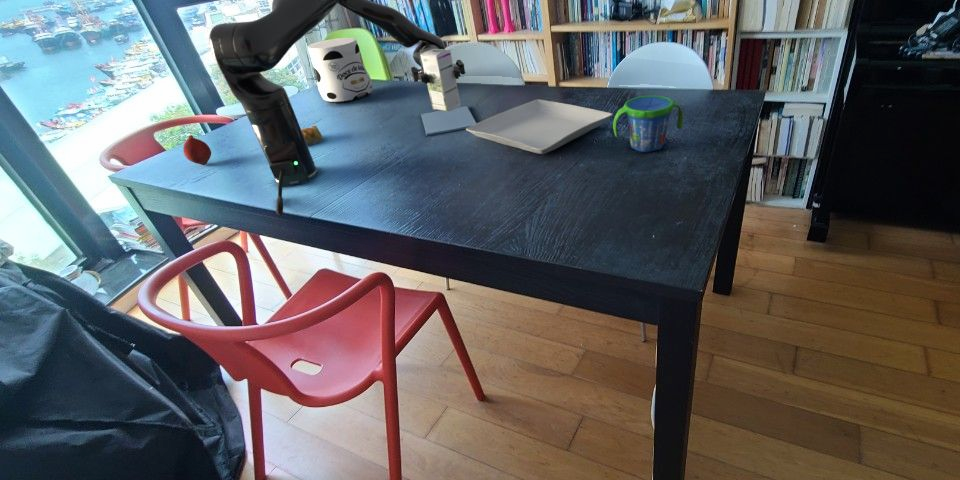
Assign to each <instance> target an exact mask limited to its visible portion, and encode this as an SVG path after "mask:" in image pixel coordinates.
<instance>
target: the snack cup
mask: <svg viewBox="0 0 960 480" xmlns="http://www.w3.org/2000/svg"><path fill="white" fill-rule="evenodd" d="M675 107H676V108H677V122H676V128H677V129H678V130H681V129H682V128H683V124H684V112H683V109H682V107H681V105H679V104H678V103H677V102H675V101H674V100H673V99H672V98H670V97H667V96H664V95H654V94H652V95H651V94H650V95H649V94H648V95H640V96H636V97H632V98H630V99H628V100H627V101H626V102H625V103H624V105H623V106H622V107H621V108H620V109H618V111H617V112H616V114H615V116H614V118H613V122H612V130H613V133H614V136H615V137H616V138H618V137H619V135H618V127H617V126H618V125H617V123H618V120H619V119H620V117H621V116H622V115H623V114H625V118H626V121H627V126H628V128H627V129H628V136H629V143H630V147H631V148H632V149H634V150H635V151H638V152H641V153H651V152H655V151H660V150H661V149H662V148H663V147H664V145H665V142H666V137H667V132H668V128H669V123H670V118H671V115H672V113H673V110H674V108H675Z"/></svg>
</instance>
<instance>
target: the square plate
mask: <svg viewBox="0 0 960 480" xmlns="http://www.w3.org/2000/svg"><path fill="white" fill-rule="evenodd" d="M613 115H614V113H612V112H609V111H604V110H600V109H599V110H598V109H594V108H589V107H586V106H579V105H575V104H571V103H570V104H569V103H564V102H558V101H550V100H545V99H539V98H538V99H534V100H532V101H529V102H526V103H524V104H521V105H518V106H515V107H512V108H510V109H506V110H505V111H502V112H500V113H497V114H494V115H492V116H490V117H488V118H486V119H483V120H481V121H479V122H476V123H477V124H475V125H472V126H470V127H468V128H466V129H465V131H467V132H470V134H472V135H474V136H475V137H478V138H480V139H483V140H484V139H485V140H487V141H492V142H494V143H498V144H500V145H505V146H509V147H512V148H516V149H519V150H523V151H527V152H530V153H534V154H539V155H545V154H547V153H550V152H552V151H554V150H556V149H558V148H560V147H562V146H564V145H566V144H568V143H570V142H573V141H575V139H577V138H580V137H581V136H583V135H585V134H588V133H589V132H590V131H592V130H594V129H596V128H598V127H600V126H601V125H604V124H605V123H607V122H608V120H609V119H610V118H611V117H612V116H613Z"/></svg>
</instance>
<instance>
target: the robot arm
mask: <svg viewBox="0 0 960 480" xmlns="http://www.w3.org/2000/svg"><path fill="white" fill-rule="evenodd" d="M337 5H339V6H341V7H342V8H344V9H346V10H348V11H349V12H351V13H352V14H355V15H356V16H358V17H360V18H362V19H364V20H366V21H367V22H369V23H371V24H373V25H375V26H376V27H377V28H379V29H381V30H382V31H384V32H385V33H386V34H387V35H389V36H390V37H391V38H392V39H394V40H395V41H396V42H398V43H399V44H400V45H402V46H403V47H405V48H407V49H410V48H412V47H413V46H415V45H416V44H417V43H418V44H417V46H416V47H415V49H414V50H413V52H412V58H413V60H414V62H415V63H416V65H417V66H418V67H420V69H418V67H416V66H411V68H410V70H411V75H412V80H413V83H418V82H419V81H420V83H423V84H424V85H427V80H426V75H425V72H424V68H423V64H422V59H421V54H422V53H424V52H426V51H428V50H431V49H443V50H446V46H445V42H444V41H443V39H442V38H441V37H439V36H438V35H436V34H435V33H432V32H430V31H427V30H425V29H423V28H422V27H420V26H418V25H417V24H415V23H413V22H412V20H410V19H409V18H408V17H407V16H406V15H404V14H403V13H402V12H401V11H399V10H398V9H396V8H393V7H391V6H387V5H385V4H381V3H379V2H378V3H377V2H374V1H372V0H272V3H271V11H270V12H269V13H267V14H265V15H264V16H262V17H260V18H258V19H255V20H252V21H239V22H238V21H237V22H225V23H219V24H216V25H214V26H213V27H212V28H211V30H210V32H209V37H208V38H209V46H210V47H209V48H210V50H211V53H212V56H213V58H214V61H215V62H216V65H217V67H218V69H219V71H220V73H221V74H222V76H223V78H224V80H225V82H226V83H227V85H228V88H229V90H230V91H231V93H232V95H233V96H234V97H235V98H236V100H237V101H239V103H240V104H241V106H242V108H243V110H244V112H245V115H246V116H247V119H248V122H249V123H250V126H251V128H252V130H253V132H254V134H255V136H256V139H257V141H258V143H259V145H260V147H261V150H262V152H263V154H264V157H265V159H266V161H267V164H268V166H269V169H270V171H271V174H272V176H273V177H274V180H275V183H276V184H277V198H276V202H275V213H276V215H277V216H278V217H281V216H282V215H284V214H283V213H284V200H283V187H289V186H293V185H300V184H304V183H309V182H310V180H312V179H313V178H315V177H316V176H317V175H318V173H319V170H318V168H317V166H316V164H315V161H314V159H313V156H312V154H311V151H310V149H309V145H307V144H306V141H305V138H304V136H303V133H302V131H301V129H302V128H301V125H300V124H299V121H298V118H297V115H296V113H295V110H294V108H293V106H292V102H291V100H290V97H289V95H288V93H287V91H286V89H285V88H284V87H283V86H282V85H280V84H278V83H275V82H273V81H271V80H269V79H267V78H266V77H265V76H264V75H263V74H262V73H264V72H268V71H270V70H273V69H274V68H275V67H276V66H277V65H279V63H280V62H281V60H282V59H283V58H284V57H285V56H286V54H287V53H288V52H289V51H290V49H291V48H292V47H294V45H295V44H296V43H297V42H299V41H300V40H301V39H302V38H303V37H305V36H306V35H307V34H308V33H310V32H311V31H312V30H314V28H316V27H317V26H318V25H319V24H320V23H322V21H323V20H324V19H326V17H327V16H328V15H330V13H331V12H332V11H333V10H334V8H335V7H336V6H337ZM453 67H454V73H455V78H456V80H459V78H460V77H462V75H466V68H465V63H464V62H463V61H462V59H457V60H456V61H455V63H453Z"/></svg>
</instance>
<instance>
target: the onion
mask: <svg viewBox="0 0 960 480" xmlns="http://www.w3.org/2000/svg"><path fill="white" fill-rule="evenodd" d="M182 146H183V147H182V149H183V156H184V157H185V158H186V159H187V160H188V161H189V162H191V163H194V164H196V165H197V164H198V165H200V166H201V165H202V166H205V165H207V164H208V162H209V160H210V159H211V156H212V151H211V148H210V146H209V145H208V144H207V143H206V142H205V141H203V140H201V139H198V138H196V137H194V136H193V134H189V135H188V136H187V139H186V140H185V142H184V144H183V145H182Z"/></svg>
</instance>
